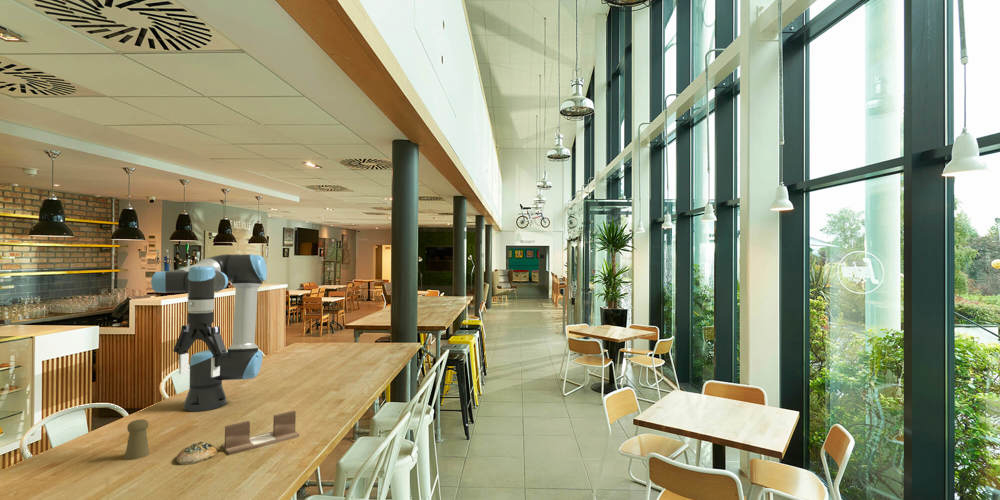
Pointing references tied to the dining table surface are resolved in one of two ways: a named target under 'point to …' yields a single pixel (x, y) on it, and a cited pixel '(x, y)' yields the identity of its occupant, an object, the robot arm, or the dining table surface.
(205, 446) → the bread roll
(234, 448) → the notched board
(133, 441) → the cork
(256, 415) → the dining table surface
